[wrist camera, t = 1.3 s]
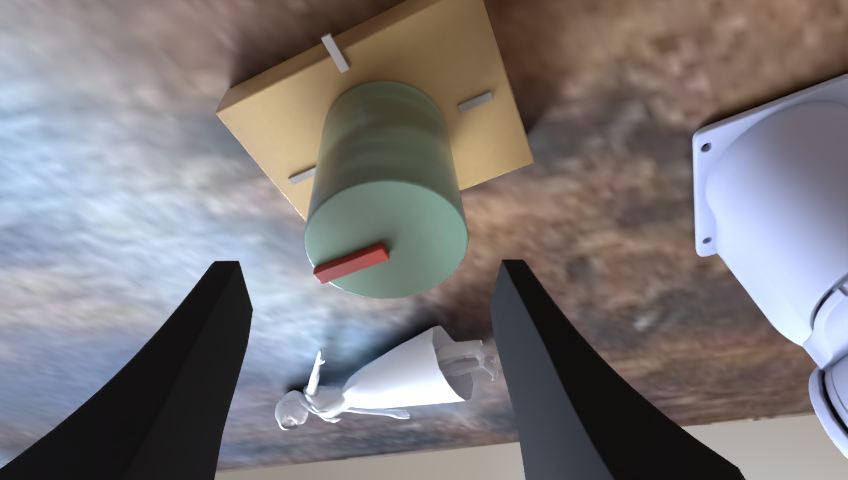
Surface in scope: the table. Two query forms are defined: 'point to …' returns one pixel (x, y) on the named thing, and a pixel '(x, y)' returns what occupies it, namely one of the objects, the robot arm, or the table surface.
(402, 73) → the tan flat wooden board
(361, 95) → the mint green cylinder
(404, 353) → the woman figurine
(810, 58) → the table surface
